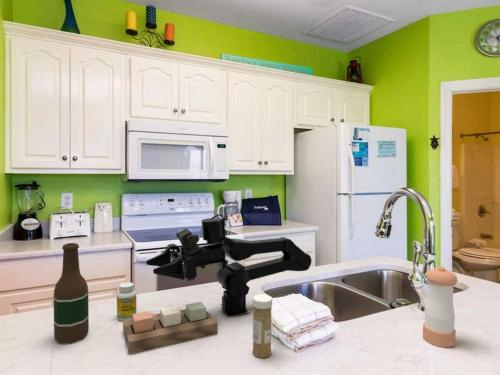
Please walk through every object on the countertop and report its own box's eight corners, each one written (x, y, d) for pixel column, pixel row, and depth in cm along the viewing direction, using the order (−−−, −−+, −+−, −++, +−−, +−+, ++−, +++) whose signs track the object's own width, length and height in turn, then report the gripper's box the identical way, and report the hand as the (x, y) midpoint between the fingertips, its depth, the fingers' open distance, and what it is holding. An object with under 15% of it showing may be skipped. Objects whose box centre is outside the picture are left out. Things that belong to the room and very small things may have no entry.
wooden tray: (202, 316, 97) (202, 306, 97) (217, 334, 86) (217, 322, 86) (123, 331, 87) (123, 320, 86) (129, 354, 76) (129, 342, 76)
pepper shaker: (443, 350, 80) (447, 273, 79) (416, 337, 86) (419, 265, 85) (461, 343, 83) (464, 269, 82) (433, 331, 89) (436, 262, 88)
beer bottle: (95, 332, 86) (94, 242, 85) (70, 347, 79) (69, 248, 78) (72, 327, 89) (71, 239, 88) (46, 341, 81) (45, 245, 80)
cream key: (176, 316, 89) (176, 306, 89) (180, 323, 85) (180, 312, 85) (159, 320, 87) (159, 309, 87) (163, 327, 83) (163, 315, 83)
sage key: (200, 312, 92) (200, 301, 92) (206, 318, 89) (206, 307, 88) (185, 315, 90) (185, 304, 90) (190, 321, 86) (190, 310, 86)
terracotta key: (149, 322, 86) (149, 310, 86) (153, 329, 82) (153, 317, 82) (132, 325, 84) (132, 314, 84) (134, 333, 80) (134, 321, 80)
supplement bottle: (133, 311, 99) (133, 280, 99) (138, 318, 95) (138, 285, 94) (115, 315, 96) (114, 283, 96) (119, 322, 92) (118, 289, 91)
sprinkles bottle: (273, 357, 76) (274, 300, 75) (254, 359, 75) (255, 301, 74) (268, 347, 80) (269, 293, 80) (250, 349, 79) (250, 294, 78)
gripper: (192, 223, 103) (140, 231, 95) (214, 233, 86) (154, 244, 79) (195, 258, 103) (144, 269, 96) (217, 274, 87) (158, 288, 80)
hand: (149, 266), depth 88 cm, fingers open, 9 cm apart
